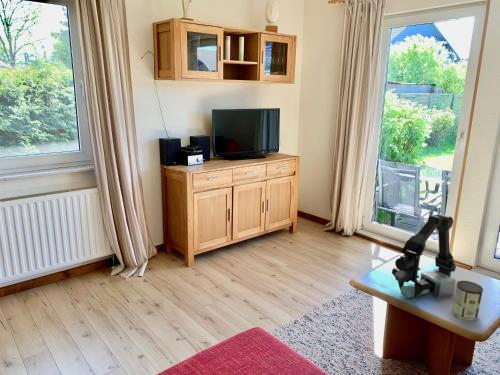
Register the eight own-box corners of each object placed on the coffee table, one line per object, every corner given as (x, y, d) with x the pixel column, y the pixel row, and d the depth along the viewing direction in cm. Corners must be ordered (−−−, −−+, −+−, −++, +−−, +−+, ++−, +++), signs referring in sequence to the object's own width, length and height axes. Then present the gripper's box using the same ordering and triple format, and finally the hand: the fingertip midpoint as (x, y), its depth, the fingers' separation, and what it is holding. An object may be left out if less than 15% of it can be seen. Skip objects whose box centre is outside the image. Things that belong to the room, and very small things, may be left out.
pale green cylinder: (418, 290, 186) (420, 279, 185) (428, 296, 181) (430, 285, 179) (399, 294, 181) (401, 283, 180) (409, 300, 176) (410, 289, 175)
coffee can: (464, 306, 173) (469, 279, 170) (483, 318, 164) (488, 290, 160) (446, 309, 170) (451, 281, 167) (464, 322, 161) (470, 293, 157)
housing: (433, 283, 194) (435, 269, 192) (453, 294, 183) (455, 280, 181) (418, 286, 190) (420, 272, 188) (437, 298, 179) (440, 283, 177)
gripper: (385, 259, 180) (381, 287, 184) (414, 276, 164) (410, 307, 168) (402, 256, 185) (398, 284, 189) (433, 272, 168) (428, 302, 172)
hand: (407, 294), depth 179 cm, fingers open, 9 cm apart
